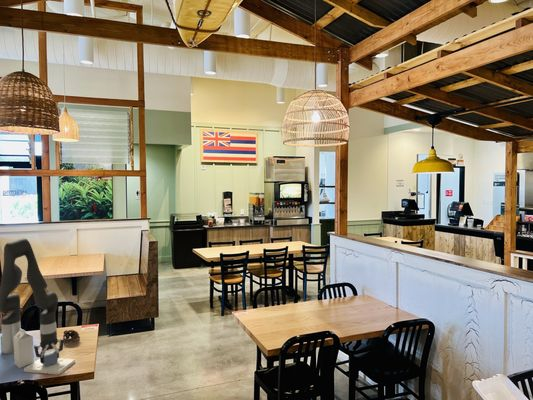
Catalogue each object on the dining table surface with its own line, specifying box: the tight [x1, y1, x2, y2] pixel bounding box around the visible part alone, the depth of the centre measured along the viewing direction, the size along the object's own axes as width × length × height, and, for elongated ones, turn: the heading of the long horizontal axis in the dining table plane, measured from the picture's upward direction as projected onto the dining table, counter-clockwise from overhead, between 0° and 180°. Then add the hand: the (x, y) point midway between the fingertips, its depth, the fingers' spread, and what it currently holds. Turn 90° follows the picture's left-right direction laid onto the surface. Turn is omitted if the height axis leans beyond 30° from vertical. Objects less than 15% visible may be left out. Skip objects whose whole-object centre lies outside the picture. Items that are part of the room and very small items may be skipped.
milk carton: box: [13, 328, 35, 369], centre depth 206 cm, size 7×7×19 cm
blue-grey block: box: [43, 349, 58, 366], centre depth 203 cm, size 6×6×5 cm
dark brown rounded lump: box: [62, 329, 81, 345], centre depth 234 cm, size 12×10×8 cm
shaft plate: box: [23, 357, 76, 375], centre depth 203 cm, size 20×13×5 cm, turn 81°
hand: (49, 361), depth 203 cm, fingers closed on blue-grey block, 6 cm apart
